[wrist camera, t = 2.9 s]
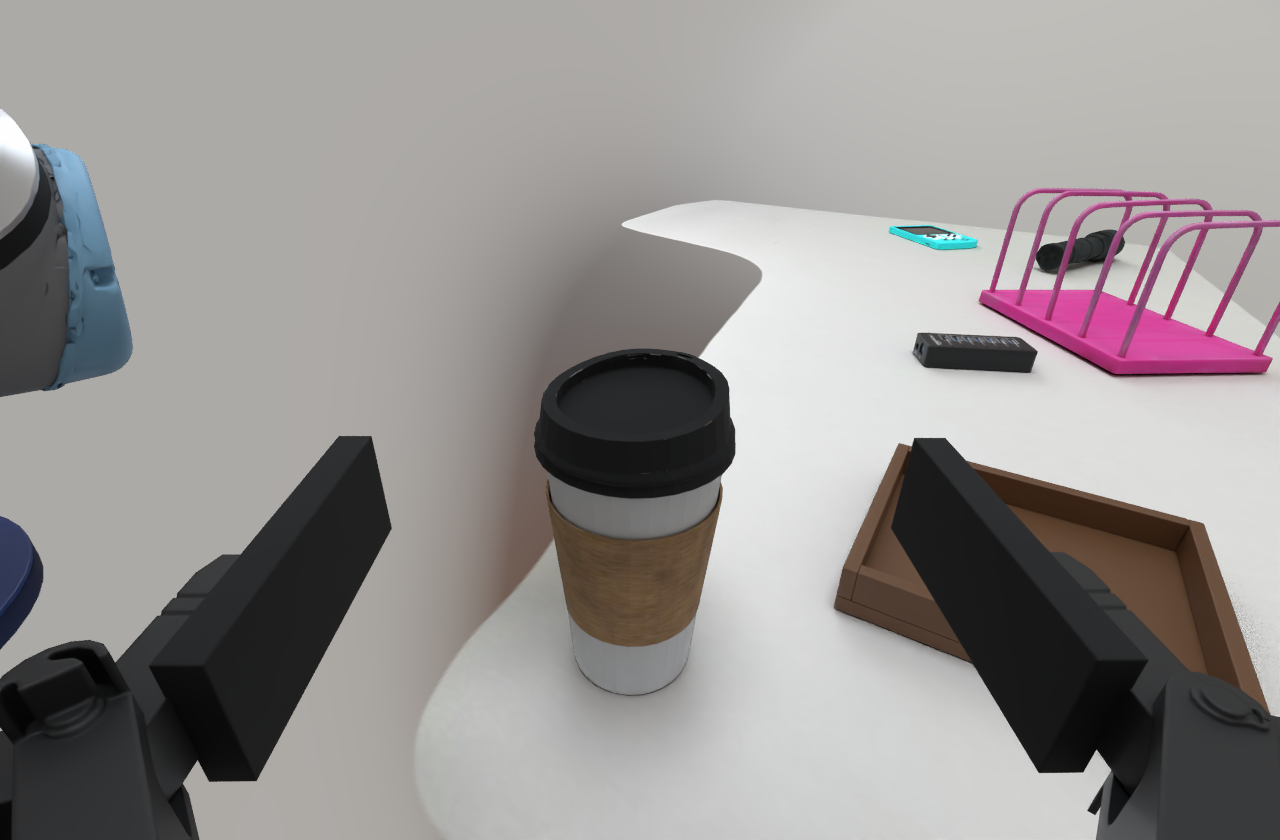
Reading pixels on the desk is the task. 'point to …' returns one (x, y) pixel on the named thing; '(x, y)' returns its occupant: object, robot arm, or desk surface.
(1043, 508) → the tray
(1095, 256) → the flashlight
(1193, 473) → the desk surface
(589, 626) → the coffee cup
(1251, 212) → the file sorter
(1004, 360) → the multiport hub
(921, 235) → the handheld game console
